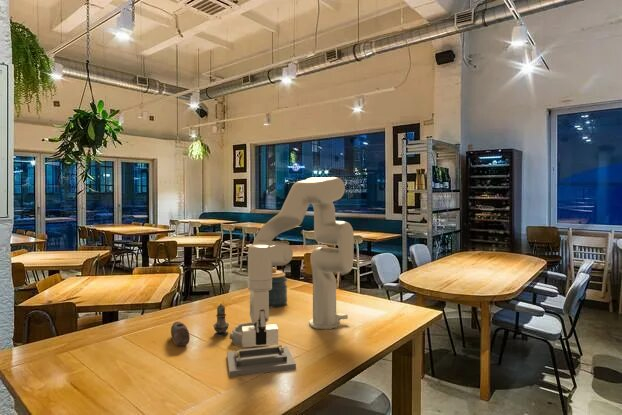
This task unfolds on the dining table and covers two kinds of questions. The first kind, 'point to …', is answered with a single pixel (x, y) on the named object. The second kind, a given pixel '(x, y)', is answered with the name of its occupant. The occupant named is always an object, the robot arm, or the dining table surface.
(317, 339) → the dining table surface
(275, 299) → the canister
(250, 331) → the aluminium bar
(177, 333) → the perforated stone tool
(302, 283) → the dining table surface
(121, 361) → the dining table surface
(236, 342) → the dish
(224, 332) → the dark grey chess piece
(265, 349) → the switch frame
